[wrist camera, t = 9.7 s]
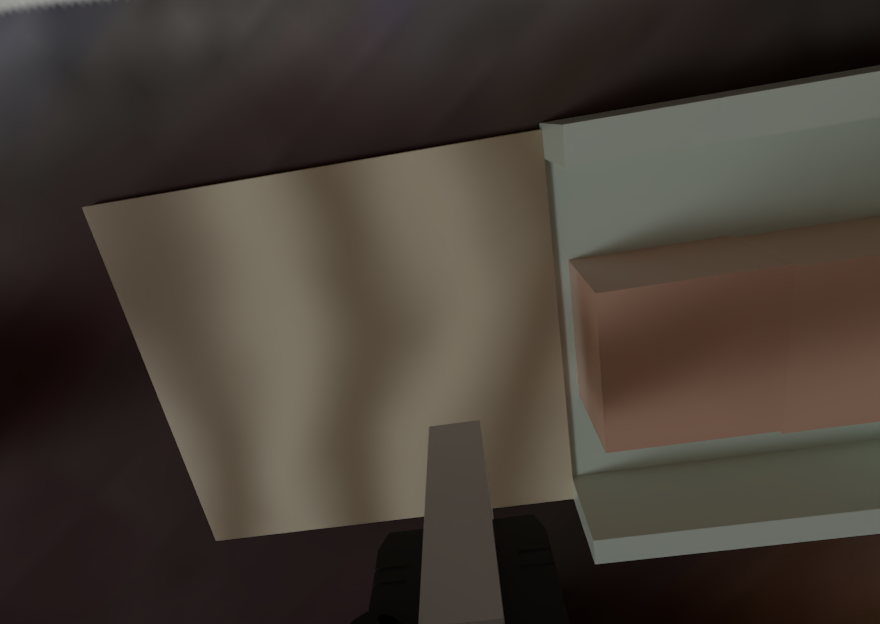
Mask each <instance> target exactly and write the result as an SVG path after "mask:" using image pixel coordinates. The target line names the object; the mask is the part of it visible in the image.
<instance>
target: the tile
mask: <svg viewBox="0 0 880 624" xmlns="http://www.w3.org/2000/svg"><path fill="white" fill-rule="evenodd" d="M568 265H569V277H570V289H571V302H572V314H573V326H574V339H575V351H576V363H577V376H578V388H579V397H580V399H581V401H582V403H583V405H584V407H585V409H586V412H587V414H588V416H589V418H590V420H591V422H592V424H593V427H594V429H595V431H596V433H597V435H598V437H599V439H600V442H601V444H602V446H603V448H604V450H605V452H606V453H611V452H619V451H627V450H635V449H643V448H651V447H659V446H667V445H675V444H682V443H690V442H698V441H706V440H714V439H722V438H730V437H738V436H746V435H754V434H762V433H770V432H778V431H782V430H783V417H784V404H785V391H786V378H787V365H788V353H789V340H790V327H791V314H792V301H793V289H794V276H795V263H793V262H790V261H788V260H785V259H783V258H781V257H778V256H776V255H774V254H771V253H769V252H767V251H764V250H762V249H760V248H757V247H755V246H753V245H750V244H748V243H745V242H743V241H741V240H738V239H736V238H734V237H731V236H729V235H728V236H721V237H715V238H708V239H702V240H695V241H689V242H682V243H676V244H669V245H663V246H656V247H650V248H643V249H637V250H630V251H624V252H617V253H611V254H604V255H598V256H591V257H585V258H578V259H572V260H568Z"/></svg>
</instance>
